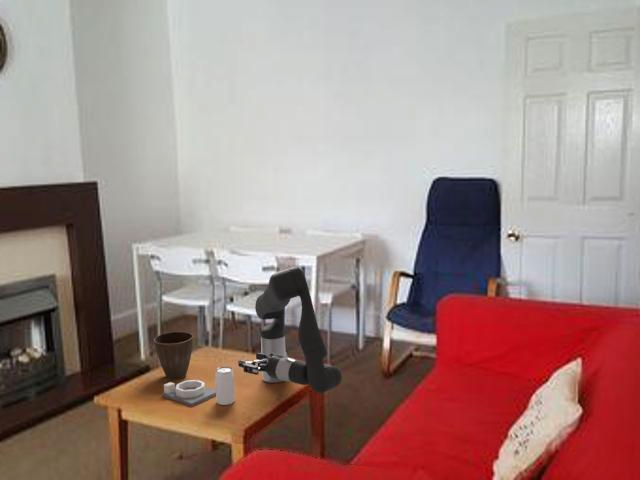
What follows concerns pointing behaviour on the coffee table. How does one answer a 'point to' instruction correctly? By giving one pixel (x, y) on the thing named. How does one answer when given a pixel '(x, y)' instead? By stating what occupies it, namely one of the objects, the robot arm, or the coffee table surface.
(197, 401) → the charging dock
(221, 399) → the can
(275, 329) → the robot arm
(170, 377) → the plant pot
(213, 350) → the coffee table surface
